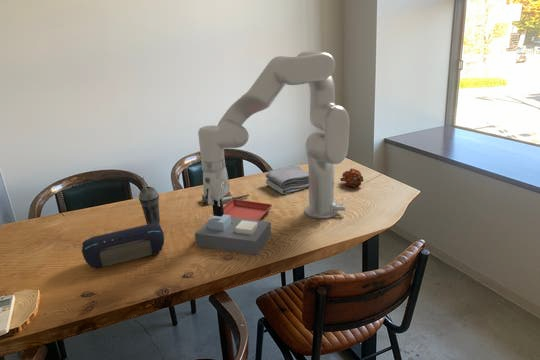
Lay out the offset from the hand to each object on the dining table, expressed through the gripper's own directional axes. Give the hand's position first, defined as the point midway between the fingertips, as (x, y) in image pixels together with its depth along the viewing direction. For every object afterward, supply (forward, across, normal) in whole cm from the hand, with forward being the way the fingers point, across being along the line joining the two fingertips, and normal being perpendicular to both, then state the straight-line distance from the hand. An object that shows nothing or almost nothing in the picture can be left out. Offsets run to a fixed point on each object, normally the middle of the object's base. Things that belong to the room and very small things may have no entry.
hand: (218, 215), depth 136 cm
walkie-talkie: (+10, +32, +14) cm, 36 cm away
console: (+9, 0, -5) cm, 10 cm away
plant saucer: (+10, +17, -1) cm, 20 cm away
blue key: (+6, 0, 0) cm, 6 cm away
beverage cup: (+9, +3, +30) cm, 31 cm away
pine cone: (+9, +59, -36) cm, 70 cm away
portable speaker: (+10, -20, +24) cm, 33 cm away
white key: (+7, 0, -10) cm, 13 cm away
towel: (+9, +53, -10) cm, 54 cm away
